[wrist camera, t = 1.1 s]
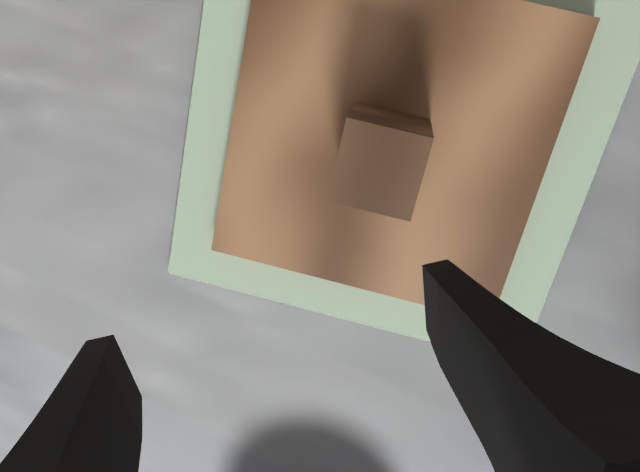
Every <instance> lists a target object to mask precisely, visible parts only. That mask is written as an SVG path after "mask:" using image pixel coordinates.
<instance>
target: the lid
mask: <svg viewBox="0 0 640 472" xmlns="http://www.w3.org/2000/svg"><path fill="white" fill-rule="evenodd" d="M599 21H600V18H599V17H594V16H590V15H585V14H581V13H576V12H572V11H567V10H563V9H559V8H554V7H550V6H545V5H541V4H536V3H532V2H527V1H523V0H251V4H250V10H249V16H248V22H247V29H246V35H245V41H244V47H243V54H242V60H241V66H240V73H239V79H238V85H237V91H236V98H235V104H234V110H233V116H232V123H231V129H230V135H229V141H228V148H227V154H226V160H225V167H224V173H223V179H222V185H221V192H220V198H219V204H218V210H217V217H216V223H215V229H214V236H213V242H212V248H211V250H213V251H217V252H221V253H224V254H228V255H232V256H236V257H240V258H244V259H248V260H252V261H255V262H259V263H263V264H267V265H271V266H275V267H279V268H282V269H286V270H290V271H294V272H298V273H302V274H306V275H310V276H313V277H317V278H321V279H325V280H329V281H333V282H337V283H340V284H344V285H348V286H352V287H356V288H360V289H364V290H368V291H371V292H375V293H379V294H383V295H387V296H391V297H395V298H399V299H402V300H406V301H410V302H414V303H418V304H422V305H425V302H424V286H423V270H422V265H424V264H429V263H433V262H437V261H442V260H446V259H448V260H449V261H451V262H452V263H453V264H455V265H456V266H457V267H459V268H460V269H461V270H462V271H464V272H465V273H466V274H467V275H469V276H470V277H471V278H473V279H474V280H475V281H476V282H478V283H479V284H480V285H482V286H483V287H484V288H486V289H487V290H488V291H490V292H491V293H492V294H494V295H495V296H497V297H498V298H499V299H500V296H501V293H502V290H503V287H504V285H505V282H506V279H507V276H508V273H509V271H510V268H511V265H512V262H513V260H514V257H515V254H516V251H517V248H518V246H519V243H520V240H521V237H522V235H523V232H524V229H525V226H526V223H527V221H528V218H529V215H530V212H531V210H532V207H533V204H534V201H535V198H536V196H537V193H538V190H539V187H540V185H541V182H542V179H543V176H544V173H545V171H546V168H547V165H548V162H549V160H550V157H551V154H552V151H553V148H554V146H555V143H556V140H557V137H558V135H559V132H560V129H561V126H562V123H563V121H564V118H565V115H566V112H567V110H568V107H569V104H570V101H571V98H572V96H573V93H574V90H575V87H576V85H577V82H578V79H579V76H580V73H581V71H582V68H583V65H584V62H585V60H586V57H587V54H588V51H589V48H590V46H591V43H592V40H593V37H594V35H595V32H596V29H597V26H598V23H599Z"/></svg>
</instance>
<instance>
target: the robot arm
mask: <svg viewBox="0 0 640 472" xmlns="http://www.w3.org/2000/svg"><path fill="white" fill-rule="evenodd" d="M422 270H423V286H424V302H425V318H426V331H427V333H428V336H429V339H430V341H431V344H432V347H433V349H434V352H435V354H436V357H437V359H438V362H439V364H440V367H441V369H442V371H443V373H444V374H445V376H446V378H447V380H448V382H449V384H450V386H451V388H452V389H453V391H454V393H455V395H456V397H457V399H458V401H459V402H460V404H461V406H462V408H463V410H464V412H465V413H466V415H467V417H468V419H469V421H470V423H471V425H472V426H473V428H474V430H475V432H476V434H477V436H478V437H479V439H480V441H481V443H482V445H483V447H484V449H485V451H486V453H487V455H488V457H489V459H490V461H491V463H492V466H493V468H494V471H495V472H640V374H639V373H636V372H633V371H631V370H628V369H626V368H624V367H621V366H619V365H617V364H614V363H612V362H610V361H607V360H605V359H603V358H600V357H598V356H596V355H594V354H592V353H590V352H588V351H586V350H584V349H582V348H580V347H578V346H576V345H574V344H572V343H570V342H568V341H566V340H564V339H562V338H560V337H559V336H557V335H555V334H553V333H552V332H550V331H548V330H546V329H545V328H543V327H541V326H540V325H538V324H537V323H535V322H533V321H532V320H530V319H529V318H527V317H526V316H524V315H523V314H521V313H519V312H518V311H517V310H515V309H514V308H512V307H511V306H509V305H508V304H507V303H505V302H504V301H502V300H501V299H499V298H498V297H497V296H495V295H494V294H492V293H491V292H490V291H488V290H487V289H486V288H484V287H483V286H482V285H480V284H479V283H478V282H476V281H475V280H474V279H473V278H471V277H470V276H469V275H467V274H466V273H465V272H464V271H462V270H461V269H460V268H459V267H457V266H456V265H455V264H453V263H452V262H451V261H449V260H448V259H446V260H442V261H437V262H433V263H429V264H424V265H422ZM141 443H142V396H141V394H140V392H139V389H138V387H137V385H136V383H135V381H134V379H133V376H132V374H131V372H130V370H129V368H128V365H127V363H126V361H125V359H124V357H123V355H122V352H121V350H120V348H119V346H118V344H117V342H116V339H115V337H114V335H110V336H106V337H101V338H97V339H93V340H88V341H86V342H85V344H84V345H83V347H82V348H81V350H80V351H79V353H78V354H77V356H76V357H75V359H74V360H73V362H72V363H71V365H70V366H69V368H68V369H67V371H66V373H65V374H64V376H63V377H62V379H61V380H60V382H59V383H58V385H57V386H56V388H55V389H54V391H53V392H52V394H51V395H50V397H49V398H48V400H47V401H46V403H45V404H44V406H43V407H42V408H41V410H40V411H39V413H38V414H37V416H36V417H35V419H34V420H33V421H32V423H31V424H30V425H29V427H28V428H27V429H26V431H25V432H24V433H23V435H22V436H21V437H20V439H19V440H18V441H17V443H16V444H15V445H14V447H13V448H12V449H11V451H10V452H9V453H8V455H7V456H6V457H5V458H4V460H3V461H2V462H1V463H0V472H138V468H139V460H140V452H141Z"/></svg>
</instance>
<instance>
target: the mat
mask: <svg viewBox="0 0 640 472" xmlns="http://www.w3.org/2000/svg"><path fill="white" fill-rule="evenodd" d="M523 1H527V2H532V3H536V4H541V5H545V6H550V7H554V8H559V9H563V10H567V11H572V12H576V13H581V14H585V15H590V16H594V17H599V18H600V21H599V23H598V26H597V29H596V32H595V35H594V37H593V40H592V43H591V46H590V48H589V51H588V54H587V57H586V60H585V62H584V65H583V68H582V71H581V73H580V76H579V79H578V82H577V85H576V87H575V90H574V93H573V96H572V98H571V101H570V104H569V107H568V110H567V112H566V115H565V118H564V121H563V123H562V126H561V129H560V132H559V135H558V137H557V140H556V143H555V146H554V148H553V151H552V154H551V157H550V160H549V162H548V165H547V168H546V171H545V173H544V176H543V179H542V182H541V185H540V187H539V190H538V193H537V196H536V198H535V201H534V204H533V207H532V210H531V212H530V215H529V218H528V221H527V223H526V226H525V229H524V232H523V235H522V237H521V240H520V243H519V246H518V248H517V251H516V254H515V257H514V260H513V262H512V265H511V268H510V271H509V273H508V276H507V279H506V282H505V285H504V287H503V290H502V293H501V296H500V299H501V300H502V301H504V302H505V303H507V304H508V305H509V306H511V307H512V308H514V309H515V310H517V311H518V312H519V313H521V314H523V315H524V316H526V317H527V318H529V319H530V320H532V321H533V322H535V323H537V320H538V318H539V315H540V313H541V310H542V308H543V305H544V303H545V300H546V297H547V295H548V292H549V290H550V287H551V285H552V282H553V280H554V277H555V274H556V272H557V269H558V267H559V264H560V262H561V259H562V257H563V254H564V251H565V249H566V246H567V244H568V241H569V239H570V236H571V234H572V231H573V228H574V226H575V223H576V221H577V218H578V216H579V213H580V211H581V208H582V205H583V203H584V200H585V198H586V195H587V193H588V190H589V188H590V185H591V182H592V180H593V177H594V175H595V172H596V170H597V167H598V165H599V162H600V159H601V157H602V154H603V152H604V149H605V147H606V144H607V142H608V139H609V137H610V134H611V131H612V129H613V126H614V124H615V121H616V119H617V116H618V114H619V111H620V108H621V106H622V103H623V101H624V98H625V96H626V93H627V91H628V88H629V85H630V83H631V80H632V78H633V75H634V73H635V70H636V68H637V65H638V62H639V60H640V0H523ZM250 4H251V0H204V5H203V12H202V20H201V27H200V35H199V42H198V50H197V57H196V65H195V72H194V80H193V87H192V95H191V102H190V110H189V117H188V125H187V132H186V140H185V147H184V155H183V162H182V170H181V177H180V185H179V192H178V200H177V207H176V215H175V223H174V230H173V238H172V245H171V253H170V260H169V268H168V273H170V274H173V275H177V276H181V277H185V278H189V279H192V280H196V281H200V282H204V283H208V284H212V285H215V286H219V287H223V288H227V289H231V290H234V291H238V292H242V293H246V294H250V295H253V296H257V297H261V298H265V299H269V300H273V301H276V302H280V303H284V304H288V305H292V306H295V307H299V308H303V309H307V310H311V311H314V312H318V313H322V314H326V315H330V316H334V317H337V318H341V319H345V320H349V321H353V322H356V323H360V324H364V325H368V326H372V327H375V328H379V329H383V330H387V331H391V332H395V333H398V334H402V335H406V336H410V337H414V338H417V339H421V340H425V341H429V342H431V341H430V339H429V336H428V333H427V331H426V318H425V305H422V304H418V303H414V302H410V301H406V300H402V299H399V298H395V297H391V296H387V295H383V294H379V293H375V292H371V291H368V290H364V289H360V288H356V287H352V286H348V285H344V284H340V283H337V282H333V281H329V280H325V279H321V278H317V277H313V276H310V275H306V274H302V273H298V272H294V271H290V270H286V269H282V268H279V267H275V266H271V265H267V264H263V263H259V262H255V261H252V260H248V259H244V258H240V257H236V256H232V255H228V254H224V253H221V252H217V251H213V250H211V248H212V242H213V236H214V229H215V223H216V217H217V210H218V204H219V198H220V192H221V185H222V179H223V173H224V167H225V160H226V154H227V148H228V141H229V135H230V129H231V123H232V116H233V110H234V104H235V98H236V91H237V85H238V79H239V73H240V66H241V60H242V54H243V47H244V41H245V35H246V29H247V22H248V16H249V10H250Z"/></svg>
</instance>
